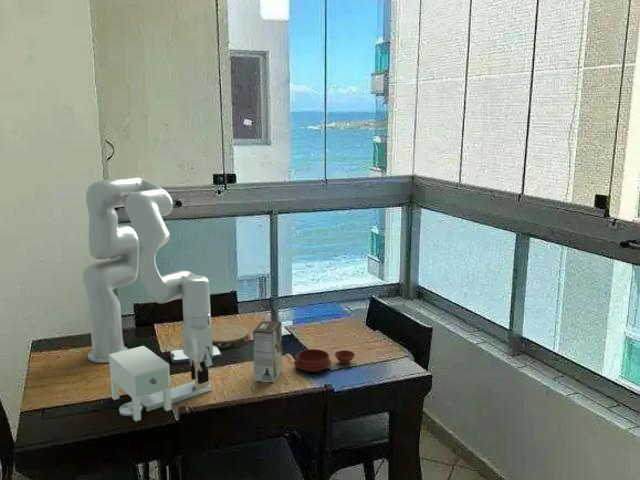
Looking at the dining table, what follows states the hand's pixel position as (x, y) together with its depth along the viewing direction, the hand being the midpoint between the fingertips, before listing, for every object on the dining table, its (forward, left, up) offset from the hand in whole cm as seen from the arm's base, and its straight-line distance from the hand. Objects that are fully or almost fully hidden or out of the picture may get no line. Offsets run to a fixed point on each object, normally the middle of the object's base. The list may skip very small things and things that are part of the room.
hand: (200, 379), depth 169 cm
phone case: (-23, +10, -3) cm, 25 cm away
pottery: (+10, +38, -3) cm, 40 cm away
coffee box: (+5, +20, -3) cm, 21 cm away
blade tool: (0, -8, -3) cm, 8 cm away
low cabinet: (-2, -17, -3) cm, 17 cm away
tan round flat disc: (-29, +25, -3) cm, 38 cm away
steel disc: (0, -21, -3) cm, 21 cm away
